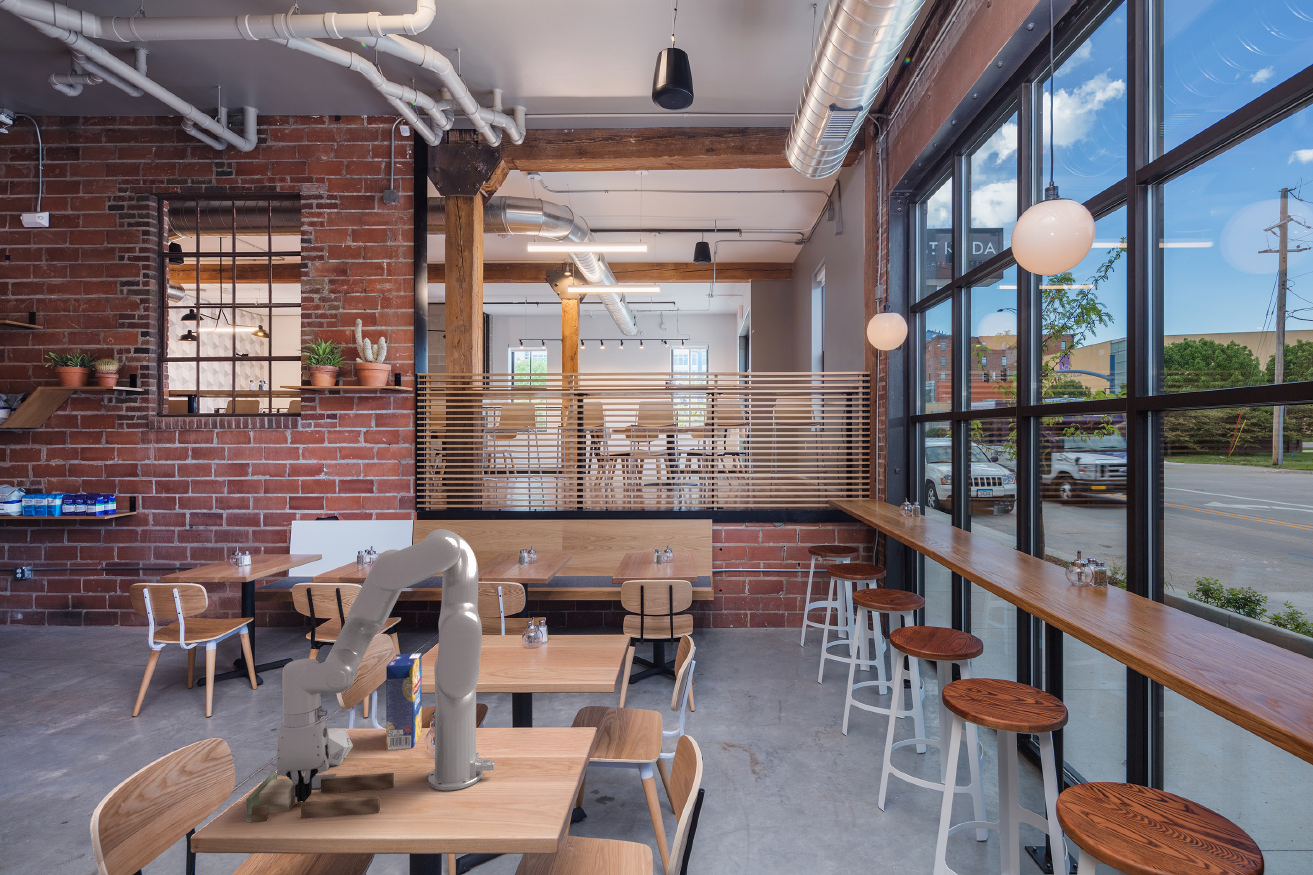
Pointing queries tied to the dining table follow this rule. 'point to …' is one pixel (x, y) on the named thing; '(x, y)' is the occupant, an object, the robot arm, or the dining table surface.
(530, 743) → the dining table surface
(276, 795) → the oak block
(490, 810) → the dining table surface
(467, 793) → the dining table surface
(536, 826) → the dining table surface
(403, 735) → the beverage box
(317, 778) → the mat
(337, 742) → the die
